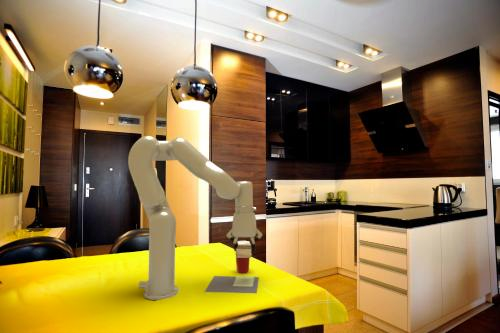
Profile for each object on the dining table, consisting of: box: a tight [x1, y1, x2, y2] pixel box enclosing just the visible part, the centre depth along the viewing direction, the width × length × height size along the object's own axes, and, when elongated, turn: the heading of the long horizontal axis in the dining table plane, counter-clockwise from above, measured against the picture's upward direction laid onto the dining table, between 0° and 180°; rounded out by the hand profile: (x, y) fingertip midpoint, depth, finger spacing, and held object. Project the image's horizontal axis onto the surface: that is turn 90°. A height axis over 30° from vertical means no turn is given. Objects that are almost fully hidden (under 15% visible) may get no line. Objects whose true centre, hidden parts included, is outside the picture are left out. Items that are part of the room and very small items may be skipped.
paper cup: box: [235, 240, 251, 275], centre depth 128 cm, size 8×8×14 cm
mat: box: [204, 275, 260, 294], centre depth 112 cm, size 20×18×1 cm
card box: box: [235, 243, 253, 259], centre depth 116 cm, size 9×6×4 cm, turn 175°
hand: (244, 252), depth 116 cm, fingers closed on card box, 6 cm apart
